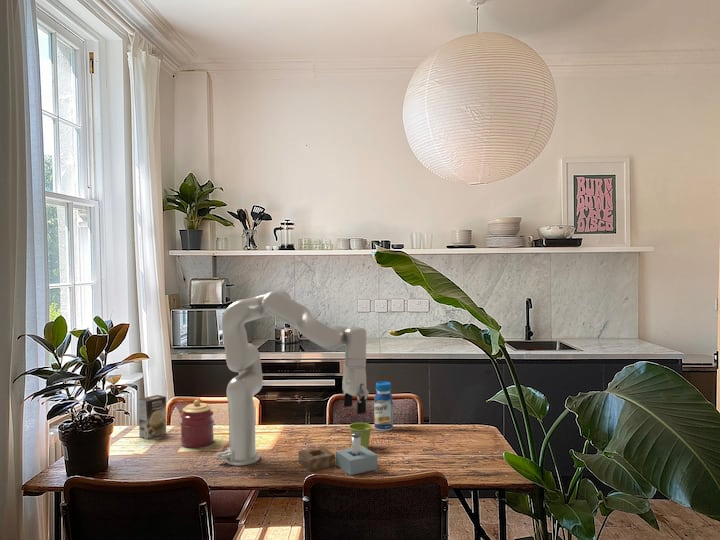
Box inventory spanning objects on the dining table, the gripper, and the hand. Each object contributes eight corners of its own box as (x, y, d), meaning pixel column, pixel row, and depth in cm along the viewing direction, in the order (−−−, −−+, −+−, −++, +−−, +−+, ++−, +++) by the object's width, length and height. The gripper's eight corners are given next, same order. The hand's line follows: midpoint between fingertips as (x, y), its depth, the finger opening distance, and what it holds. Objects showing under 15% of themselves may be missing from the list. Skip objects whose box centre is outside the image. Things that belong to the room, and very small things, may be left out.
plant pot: (360, 442, 221) (360, 421, 220) (377, 447, 214) (377, 426, 214) (343, 448, 214) (343, 426, 214) (360, 454, 207) (360, 431, 207)
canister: (188, 450, 213) (188, 406, 212) (175, 442, 222) (174, 399, 222) (219, 443, 221) (218, 400, 221) (205, 435, 231) (204, 394, 230)
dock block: (350, 475, 187) (350, 460, 187) (335, 464, 197) (335, 451, 197) (377, 468, 193) (377, 454, 193) (362, 459, 202) (361, 445, 202)
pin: (354, 469, 193) (354, 435, 192) (350, 466, 195) (350, 433, 195) (362, 467, 194) (362, 434, 194) (357, 464, 197) (357, 431, 197)
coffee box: (147, 439, 226) (147, 401, 226) (138, 436, 230) (138, 398, 230) (166, 433, 234) (166, 396, 234) (158, 430, 238) (157, 394, 237)
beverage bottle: (397, 427, 239) (396, 382, 238) (385, 432, 232) (384, 386, 232) (382, 424, 244) (382, 380, 244) (370, 428, 238) (369, 383, 238)
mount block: (310, 471, 191) (309, 459, 191) (298, 462, 200) (298, 451, 200) (335, 465, 196) (335, 454, 196) (323, 456, 205) (322, 446, 205)
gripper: (334, 358, 199) (334, 405, 200) (358, 367, 185) (357, 417, 185) (352, 357, 203) (351, 402, 204) (377, 365, 188) (376, 414, 189)
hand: (354, 409), depth 194 cm, fingers open, 9 cm apart
